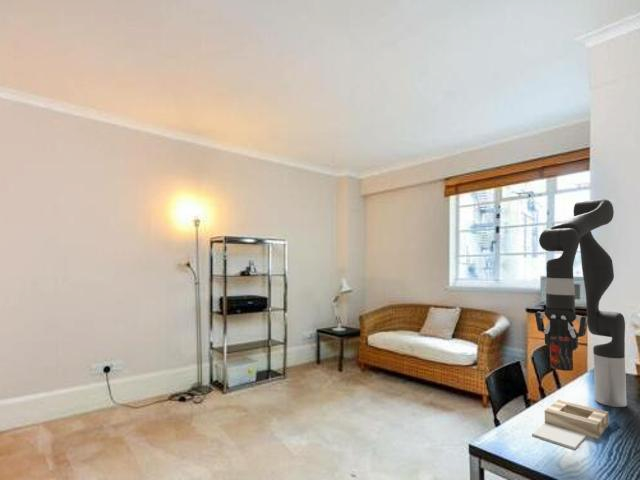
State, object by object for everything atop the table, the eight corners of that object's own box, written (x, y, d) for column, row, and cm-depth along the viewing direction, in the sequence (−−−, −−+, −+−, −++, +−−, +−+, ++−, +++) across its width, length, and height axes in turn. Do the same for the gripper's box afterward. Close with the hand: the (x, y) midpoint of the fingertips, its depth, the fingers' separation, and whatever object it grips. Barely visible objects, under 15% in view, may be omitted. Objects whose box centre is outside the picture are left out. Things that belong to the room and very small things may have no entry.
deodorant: (576, 371, 111) (575, 320, 112) (554, 369, 113) (553, 319, 114) (568, 366, 117) (567, 317, 118) (547, 364, 118) (546, 316, 119)
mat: (545, 424, 120) (544, 422, 120) (586, 437, 112) (586, 435, 112) (532, 435, 112) (532, 433, 112) (575, 449, 104) (575, 447, 104)
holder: (559, 411, 130) (558, 399, 131) (609, 424, 120) (608, 411, 120) (544, 422, 121) (544, 410, 121) (597, 438, 111) (597, 424, 111)
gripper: (591, 294, 114) (592, 350, 112) (538, 291, 124) (539, 342, 123) (584, 295, 109) (585, 354, 107) (530, 291, 119) (531, 345, 118)
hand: (561, 347), depth 115 cm, fingers closed on deodorant, 6 cm apart
